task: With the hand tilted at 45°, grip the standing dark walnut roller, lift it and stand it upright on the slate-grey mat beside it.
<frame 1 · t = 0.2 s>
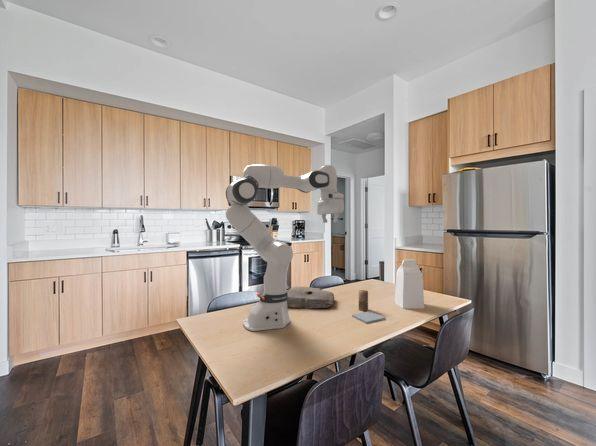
hand: (330, 222, 146), 48 cm above the table, tool pointing down, fingers open, 8 cm apart
mat: (368, 317, 137), on the table
roller: (363, 309, 149), on the table
milk: (409, 305, 157), on the table
stone slab: (308, 301, 166), on the table
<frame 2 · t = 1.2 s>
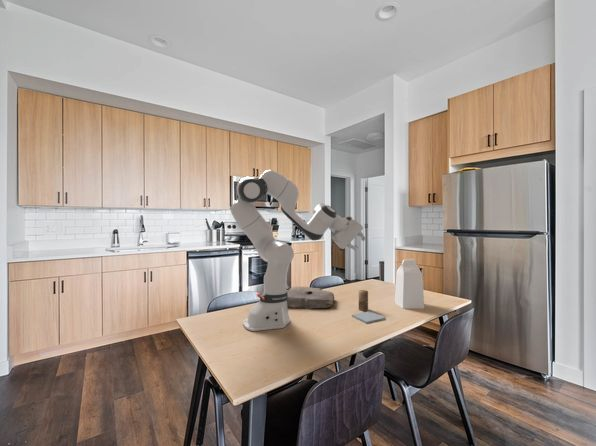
hand: (360, 244, 140), 36 cm above the table, tool tilted 50°, fingers open, 8 cm apart
nothing on the table moved.
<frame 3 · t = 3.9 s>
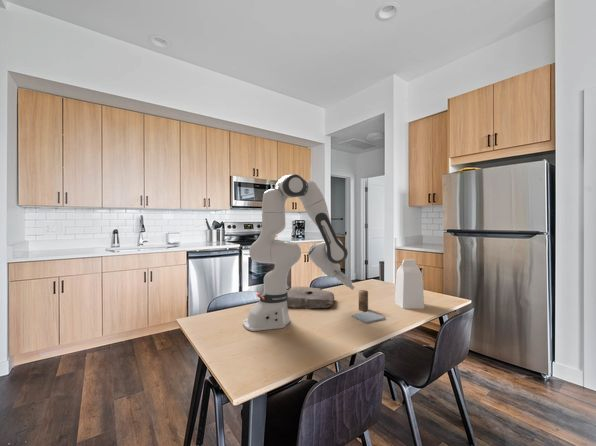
hand: (349, 286, 147), 13 cm above the table, tool tilted 45°, fingers open, 8 cm apart
nothing on the table moved.
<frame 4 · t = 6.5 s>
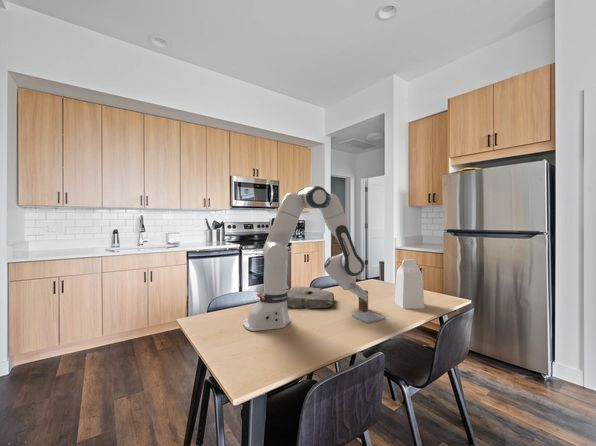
hand: (364, 298, 150), 6 cm above the table, tool tilted 45°, fingers closed on roller, 5 cm apart
roller: (363, 309, 149), on the table, touching gripper
everything else where it was.
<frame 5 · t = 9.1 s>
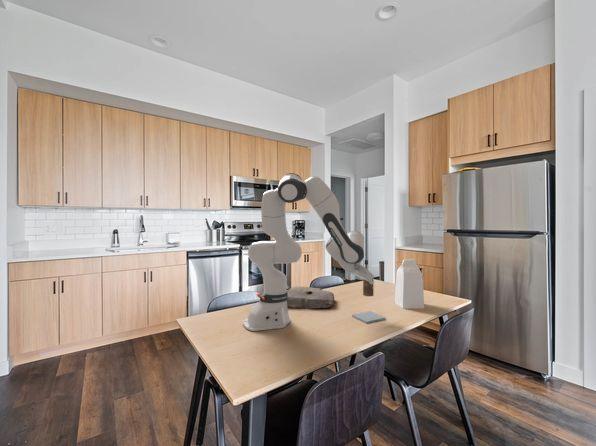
hand: (369, 282, 137), 18 cm above the table, tool tilted 45°, fingers closed on roller, 5 cm apart
roller: (368, 295, 137), point 11 cm above the table, touching gripper
everything else where it was.
when the fingers open (8 cm above the table, at t = 11.7 s): roller stays where it is, resting on mat.
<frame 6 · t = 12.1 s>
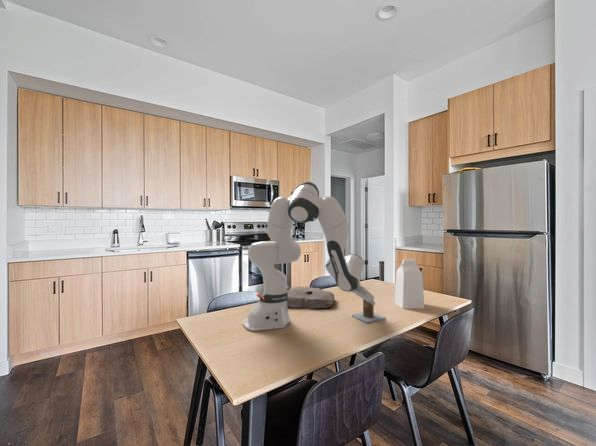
hand: (369, 301, 137), 8 cm above the table, tool tilted 45°, fingers open, 8 cm apart
roller: (368, 316, 137), point 1 cm above the table, touching mat
everything else where it was.
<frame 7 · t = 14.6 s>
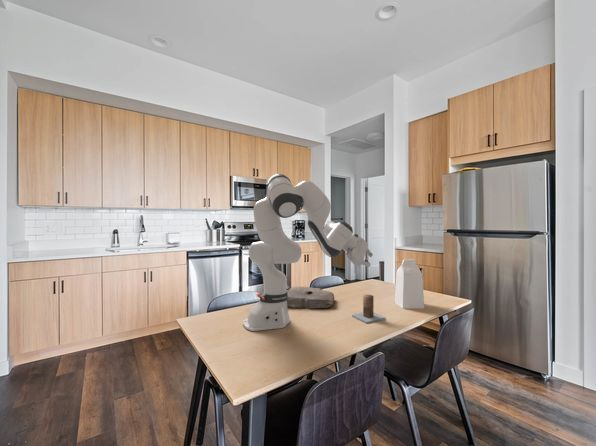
hand: (370, 260, 144), 28 cm above the table, tool tilted 50°, fingers open, 8 cm apart
nothing on the table moved.
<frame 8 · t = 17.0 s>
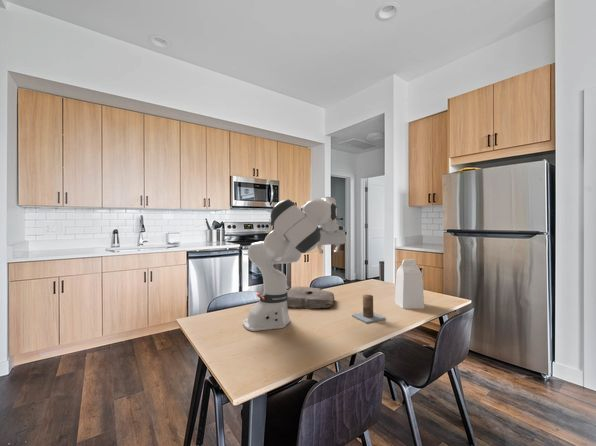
hand: (328, 252, 149), 31 cm above the table, tool pointing down, fingers open, 8 cm apart
nothing on the table moved.
at the end: roller inside the target area on the mat (0.1 cm from its centre), point 0.9 cm above the mat's base; roller tilted 1°; the gripper is holding nothing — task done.
